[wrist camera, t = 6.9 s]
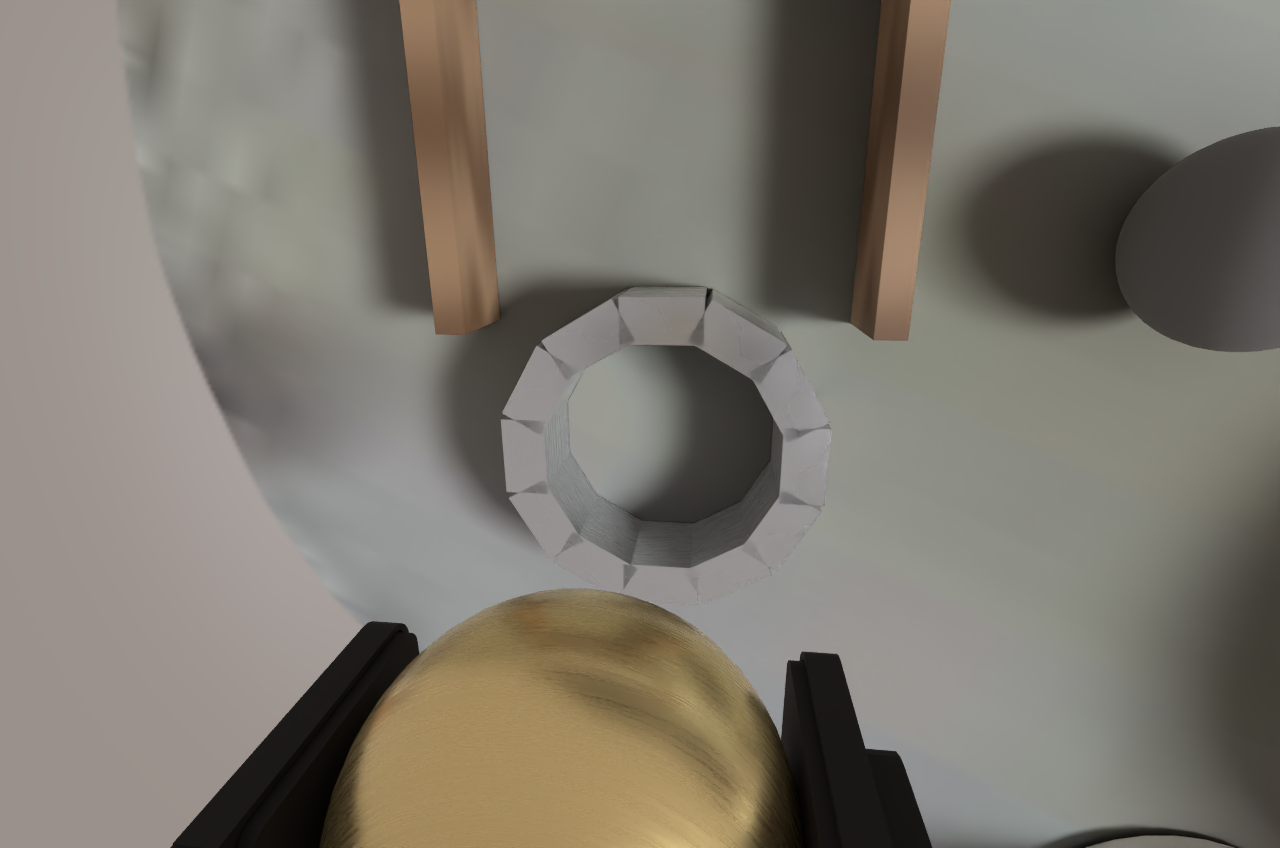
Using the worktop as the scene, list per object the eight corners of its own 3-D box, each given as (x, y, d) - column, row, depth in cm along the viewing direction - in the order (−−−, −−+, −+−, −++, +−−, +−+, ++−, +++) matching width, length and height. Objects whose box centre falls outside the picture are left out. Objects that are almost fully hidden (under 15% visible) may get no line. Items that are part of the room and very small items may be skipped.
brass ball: (769, 812, 12) (820, 1379, 6) (463, 781, 12) (244, 1262, 7) (791, 524, 10) (895, 945, 4) (429, 507, 10) (83, 846, 5)
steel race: (801, 561, 25) (814, 612, 22) (540, 547, 26) (514, 593, 23) (824, 287, 22) (843, 298, 18) (523, 286, 23) (490, 296, 20)
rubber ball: (1250, 334, 21) (1451, 375, 15) (1058, 332, 21) (1181, 370, 16) (1307, 139, 19) (1562, 101, 13) (1095, 143, 19) (1250, 109, 14)
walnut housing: (879, 323, 22) (935, 357, 16) (474, 319, 24) (398, 348, 18) (931, -144, 18) (1030, -317, 12) (437, -107, 20) (322, -243, 14)
